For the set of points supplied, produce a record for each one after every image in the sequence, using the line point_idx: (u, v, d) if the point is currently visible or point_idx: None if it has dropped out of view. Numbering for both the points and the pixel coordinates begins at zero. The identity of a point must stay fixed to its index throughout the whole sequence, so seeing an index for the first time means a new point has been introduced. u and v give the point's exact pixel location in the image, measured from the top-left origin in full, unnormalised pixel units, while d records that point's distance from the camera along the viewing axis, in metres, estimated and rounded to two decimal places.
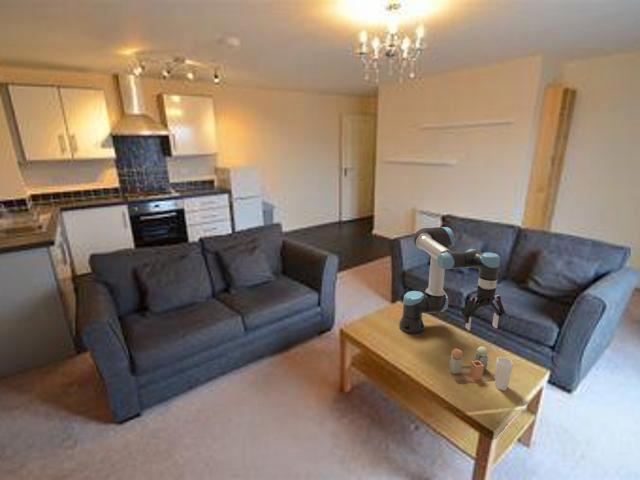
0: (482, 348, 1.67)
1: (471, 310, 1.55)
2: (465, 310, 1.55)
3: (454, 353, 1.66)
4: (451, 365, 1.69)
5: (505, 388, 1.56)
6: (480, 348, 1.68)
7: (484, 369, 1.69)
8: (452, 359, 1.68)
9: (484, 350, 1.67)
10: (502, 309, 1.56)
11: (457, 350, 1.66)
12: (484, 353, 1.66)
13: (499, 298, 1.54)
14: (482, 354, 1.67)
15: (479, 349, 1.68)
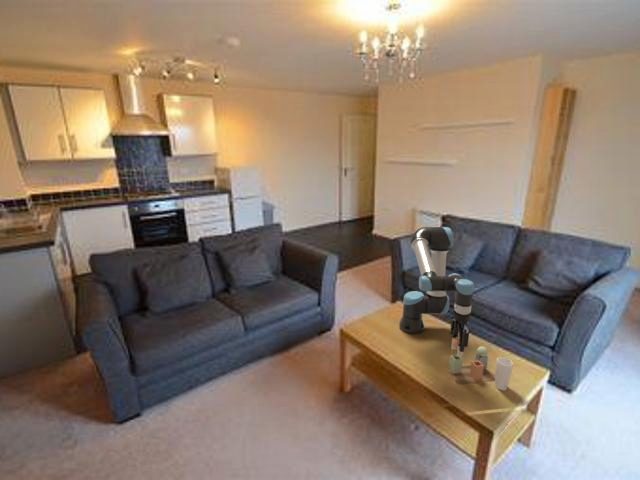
0: (482, 348, 1.67)
1: None
2: None
3: (455, 343, 1.65)
4: (451, 365, 1.69)
5: (505, 388, 1.56)
6: (480, 348, 1.68)
7: (484, 369, 1.69)
8: (452, 359, 1.68)
9: (484, 350, 1.67)
10: (462, 342, 1.59)
11: (458, 340, 1.65)
12: (484, 353, 1.66)
13: (464, 332, 1.57)
14: (482, 354, 1.67)
15: (479, 349, 1.68)
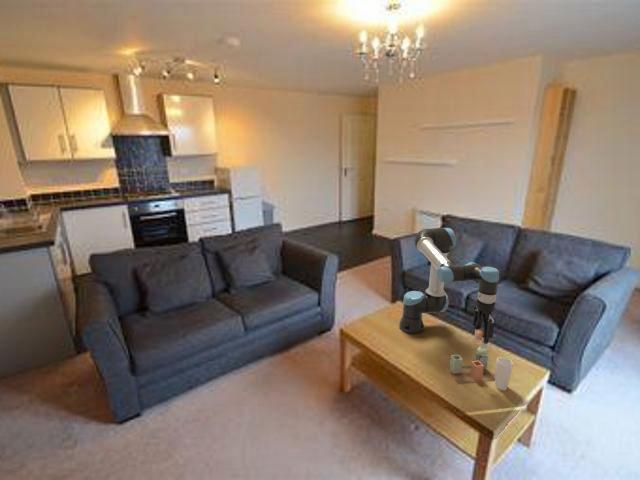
0: None
1: None
2: None
3: (478, 334, 1.57)
4: (451, 365, 1.69)
5: (505, 388, 1.56)
6: (480, 348, 1.68)
7: (484, 369, 1.69)
8: (452, 359, 1.68)
9: (484, 350, 1.67)
10: (487, 333, 1.52)
11: (482, 331, 1.57)
12: (484, 353, 1.66)
13: (489, 322, 1.50)
14: (482, 354, 1.67)
15: (479, 349, 1.68)
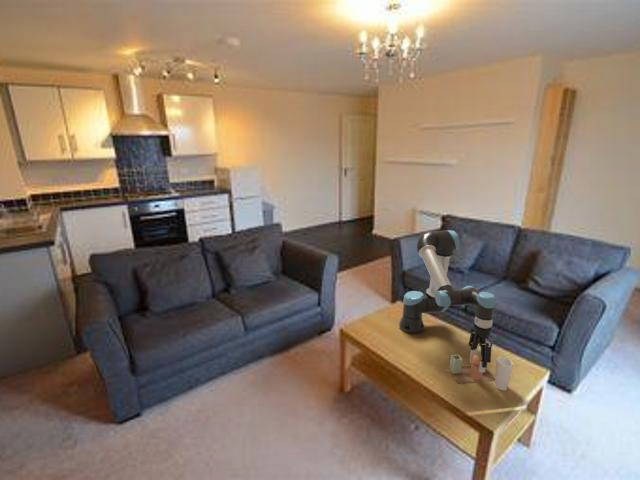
0: None
1: None
2: None
3: (475, 359, 1.61)
4: (451, 365, 1.69)
5: (505, 388, 1.56)
6: (480, 348, 1.68)
7: None
8: (452, 359, 1.68)
9: None
10: (485, 357, 1.54)
11: (478, 356, 1.61)
12: None
13: (486, 346, 1.53)
14: None
15: (479, 349, 1.68)
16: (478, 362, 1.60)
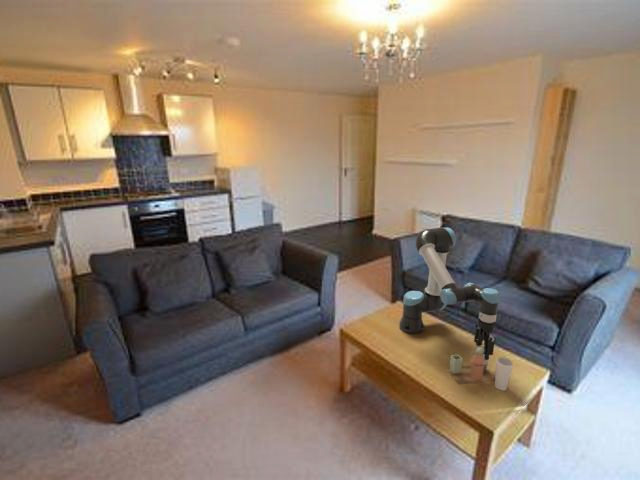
0: (482, 348, 1.67)
1: None
2: None
3: (475, 359, 1.61)
4: (451, 365, 1.69)
5: (505, 388, 1.56)
6: (480, 348, 1.68)
7: (484, 369, 1.69)
8: (452, 359, 1.68)
9: None
10: (487, 350, 1.62)
11: (478, 356, 1.61)
12: None
13: (490, 340, 1.60)
14: (482, 354, 1.67)
15: (479, 349, 1.68)
16: (478, 362, 1.60)
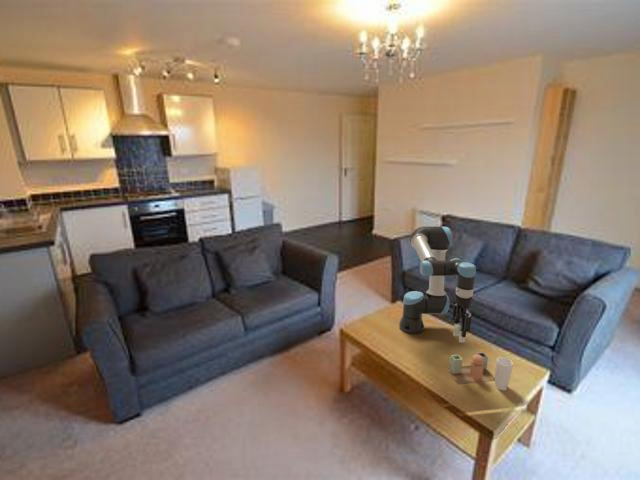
0: (459, 325, 1.62)
1: None
2: None
3: (475, 359, 1.61)
4: (451, 365, 1.69)
5: (505, 388, 1.56)
6: (457, 325, 1.62)
7: (484, 369, 1.69)
8: (452, 359, 1.68)
9: None
10: (464, 326, 1.57)
11: (478, 356, 1.61)
12: None
13: (466, 316, 1.54)
14: (459, 331, 1.61)
15: (456, 326, 1.62)
16: (478, 362, 1.60)
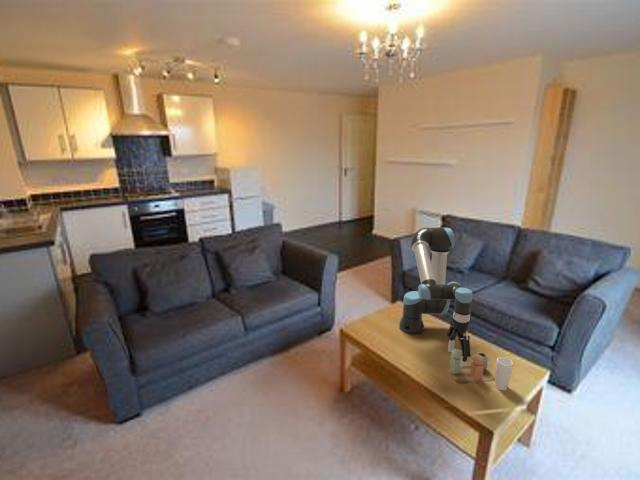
0: (456, 350, 1.66)
1: None
2: None
3: (475, 359, 1.61)
4: (451, 365, 1.69)
5: (505, 388, 1.56)
6: (454, 350, 1.66)
7: (484, 369, 1.69)
8: (452, 359, 1.68)
9: (458, 352, 1.65)
10: (464, 351, 1.58)
11: (478, 356, 1.61)
12: (458, 355, 1.65)
13: (464, 338, 1.57)
14: (456, 356, 1.65)
15: (453, 351, 1.66)
16: (478, 362, 1.60)
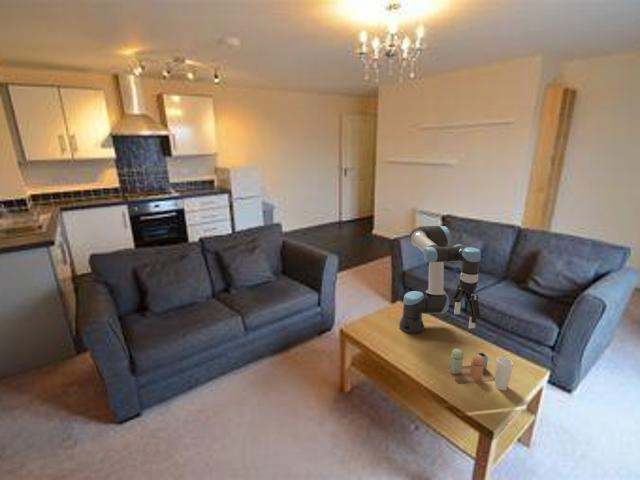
0: (456, 350, 1.66)
1: None
2: None
3: (475, 359, 1.61)
4: (451, 365, 1.69)
5: (505, 388, 1.56)
6: (454, 350, 1.66)
7: (484, 369, 1.69)
8: (452, 359, 1.68)
9: (458, 352, 1.65)
10: (473, 311, 1.53)
11: (478, 356, 1.61)
12: (458, 355, 1.65)
13: (472, 298, 1.53)
14: (456, 356, 1.65)
15: (453, 351, 1.66)
16: (478, 362, 1.60)
